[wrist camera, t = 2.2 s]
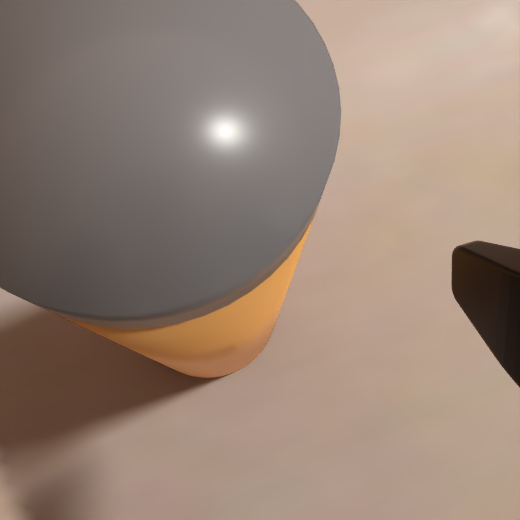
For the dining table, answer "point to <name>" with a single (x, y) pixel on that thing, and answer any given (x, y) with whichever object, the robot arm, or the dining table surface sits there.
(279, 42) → the lidded container
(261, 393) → the dining table surface
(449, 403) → the dining table surface
